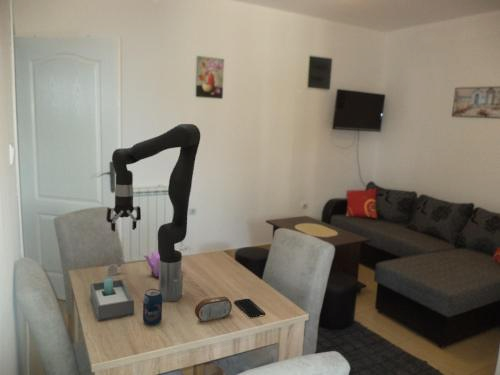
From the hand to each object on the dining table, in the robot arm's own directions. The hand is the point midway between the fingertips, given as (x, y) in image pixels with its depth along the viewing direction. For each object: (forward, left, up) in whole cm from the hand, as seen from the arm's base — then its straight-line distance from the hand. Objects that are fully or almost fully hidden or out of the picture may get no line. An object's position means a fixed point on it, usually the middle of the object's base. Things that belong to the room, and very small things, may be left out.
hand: (123, 230), depth 167 cm
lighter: (+13, -11, -27) cm, 32 cm away
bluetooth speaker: (-48, +8, -27) cm, 56 cm away
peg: (-2, +12, -26) cm, 29 cm away
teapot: (-7, -21, -27) cm, 35 cm away
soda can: (-28, +20, -27) cm, 44 cm away
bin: (-6, +16, -27) cm, 32 cm away
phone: (-58, -6, -27) cm, 65 cm away
